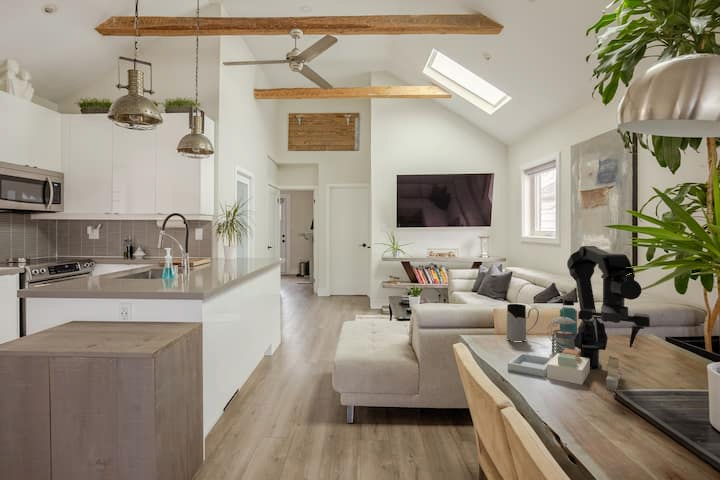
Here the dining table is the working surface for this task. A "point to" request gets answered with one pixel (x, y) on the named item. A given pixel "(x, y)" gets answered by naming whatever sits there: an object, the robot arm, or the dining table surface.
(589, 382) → the dining table surface
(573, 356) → the sage tile
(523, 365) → the box
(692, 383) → the dining table surface
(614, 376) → the scraper
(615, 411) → the dining table surface
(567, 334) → the french press
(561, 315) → the beverage bottle
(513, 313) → the glass holder
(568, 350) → the terracotta tile
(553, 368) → the cream riser block
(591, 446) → the dining table surface
